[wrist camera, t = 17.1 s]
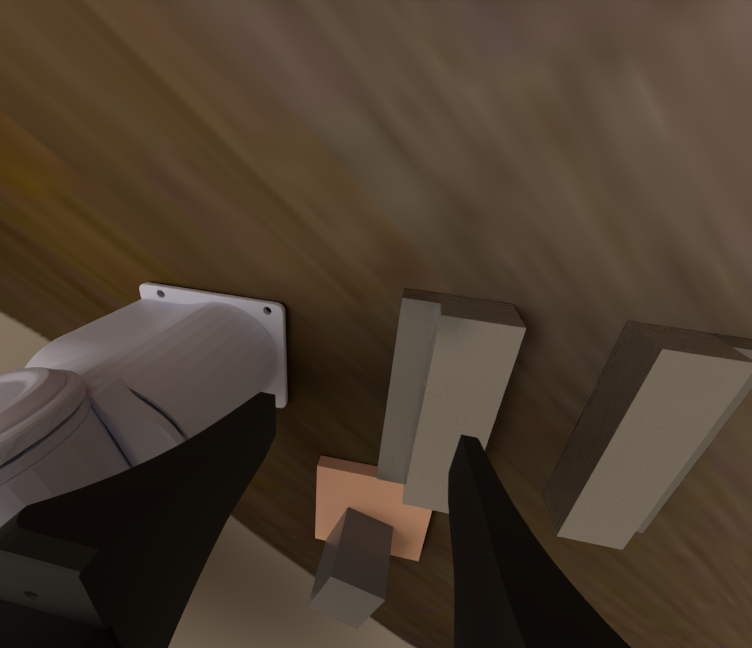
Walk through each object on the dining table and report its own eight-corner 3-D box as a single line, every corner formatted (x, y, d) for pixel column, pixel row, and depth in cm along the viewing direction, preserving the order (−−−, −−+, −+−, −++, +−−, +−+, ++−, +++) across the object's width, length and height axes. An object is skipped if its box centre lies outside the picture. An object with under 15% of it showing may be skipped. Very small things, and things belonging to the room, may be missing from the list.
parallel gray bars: (379, 462, 25) (372, 497, 22) (404, 288, 19) (399, 308, 16) (630, 511, 23) (656, 556, 21) (750, 339, 17) (809, 371, 14)
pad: (318, 526, 30) (315, 538, 29) (321, 455, 26) (317, 465, 25) (418, 548, 29) (418, 561, 28) (437, 478, 25) (437, 490, 24)
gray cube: (326, 538, 29) (306, 608, 24) (347, 506, 26) (330, 576, 22) (368, 557, 29) (356, 629, 24) (393, 526, 27) (385, 599, 22)
